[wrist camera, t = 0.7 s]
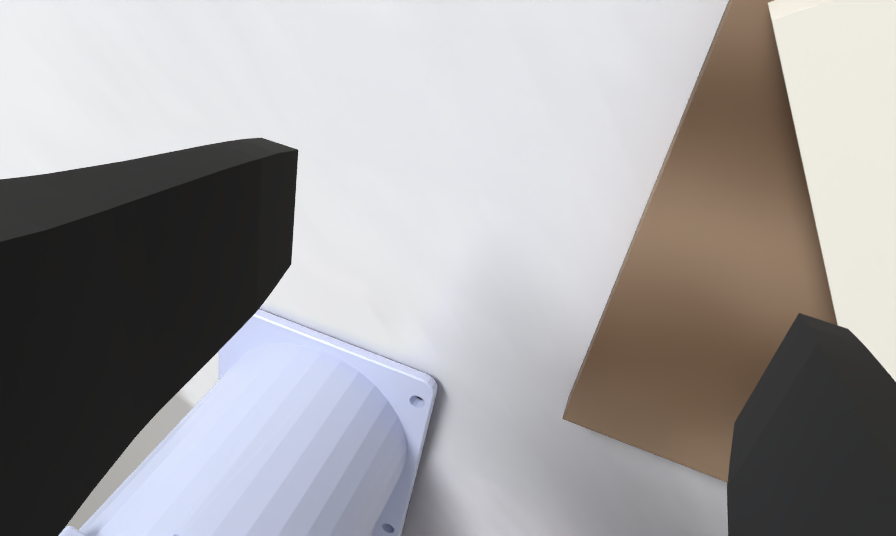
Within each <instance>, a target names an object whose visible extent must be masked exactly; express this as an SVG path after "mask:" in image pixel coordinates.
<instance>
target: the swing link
mask: <svg viewBox="0 0 896 536" xmlns="http://www.w3.org/2000/svg"><path fill="white" fill-rule="evenodd" d="M768 6H769V11H770V16H771V20H772V25H773V29H774V34H775V39H776V43H777V48H778V53H779V57H780V62H781V66H782V71H783V76H784V80H785V85H786V90H787V94H788V99H789V103H790V108H791V113H792V117H793V122H794V126H795V131H796V136H797V140H798V145H799V150H800V154H801V159H802V163H803V168H804V173H805V177H806V182H807V187H808V191H809V196H810V200H811V205H812V210H813V214H814V219H815V224H816V228H817V233H818V237H819V242H820V247H821V251H822V256H823V261H824V265H825V270H826V274H827V279H828V284H829V288H830V293H831V297H832V302H833V307H834V311H835V316H836V321H837V325H838V326H841V327H844V328H847V329H849V330H850V331H851V332H852V333H853V334H854V335H855V336H856V337H857V338H858V339H859V340H860V341H861V342H862V343H863V344H864V345H865V346H866V348H867V349H868V350H869V351H870V352H871V353H872V354H873V356H874V357H875V358H876V359H877V360H878V361H879V362H880V364H881V365H882V366H883V367H884V368H885V370H886V371H887V372H888V373H889V374H890V375H891V377H892V378H893V379H894V380H895V381H896V0H774V1H771V2H768Z"/></svg>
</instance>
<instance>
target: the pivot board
mask: <svg viewBox="0 0 896 536" xmlns="http://www.w3.org/2000/svg"><path fill="white" fill-rule="evenodd" d="M771 1H774V0H729V2H728V4H727V6H726V9H725V11H724V14H723V16H722V19H721V21H720V24H719V26H718V29H717V31H716V34H715V36H714V39H713V41H712V44H711V46H710V49H709V51H708V54H707V56H706V58H705V61H704V63H703V66H702V68H701V71H700V73H699V76H698V78H697V81H696V83H695V86H694V88H693V91H692V93H691V96H690V98H689V101H688V103H687V106H686V108H685V111H684V113H683V115H682V118H681V120H680V123H679V125H678V128H677V130H676V133H675V135H674V138H673V140H672V143H671V145H670V148H669V150H668V153H667V155H666V158H665V160H664V163H663V165H662V167H661V170H660V172H659V175H658V177H657V180H656V182H655V185H654V187H653V190H652V192H651V195H650V197H649V200H648V202H647V205H646V207H645V210H644V212H643V215H642V217H641V219H640V222H639V224H638V227H637V229H636V232H635V234H634V237H633V239H632V242H631V244H630V247H629V249H628V252H627V254H626V257H625V259H624V262H623V264H622V267H621V269H620V271H619V274H618V276H617V279H616V281H615V284H614V286H613V289H612V291H611V294H610V296H609V299H608V301H607V304H606V306H605V309H604V311H603V314H602V316H601V319H600V321H599V324H598V326H597V328H596V331H595V333H594V336H593V338H592V341H591V343H590V346H589V348H588V351H587V353H586V356H585V358H584V361H583V363H582V366H581V368H580V371H579V373H578V376H577V378H576V380H575V383H574V385H573V388H572V390H571V393H570V395H569V398H568V402H567V405H566V409H565V412H564V416H563V419H564V420H567V421H569V422H572V423H575V424H577V425H580V426H582V427H585V428H588V429H590V430H593V431H595V432H598V433H601V434H603V435H606V436H608V437H611V438H614V439H616V440H619V441H621V442H624V443H627V444H629V445H632V446H634V447H637V448H640V449H642V450H645V451H647V452H650V453H653V454H655V455H658V456H660V457H663V458H666V459H668V460H671V461H673V462H676V463H679V464H681V465H684V466H686V467H689V468H692V469H694V470H697V471H699V472H702V473H705V474H707V475H710V476H713V477H715V478H718V479H720V480H723V481H726V482H728V474H729V463H730V454H731V446H732V438H733V431H734V423H735V421H736V419H737V417H738V416H739V414H740V412H741V411H742V409H743V407H744V406H745V404H746V402H747V400H748V399H749V397H750V395H751V394H752V392H753V390H754V389H755V387H756V385H757V383H758V382H759V380H760V378H761V377H762V375H763V373H764V372H765V370H766V368H767V366H768V365H769V363H770V361H771V360H772V358H773V356H774V355H775V353H776V351H777V349H778V348H779V346H780V344H781V343H782V341H783V339H784V337H785V336H786V334H787V332H788V331H789V329H790V327H791V326H792V324H793V322H794V320H795V319H796V317H797V315H798V314H799V313H801V314H804V315H807V316H810V317H814V318H817V319H820V320H823V321H826V322H829V323H832V324H835V325H837V321H836V316H835V311H834V307H833V302H832V297H831V293H830V288H829V284H828V279H827V274H826V270H825V265H824V261H823V256H822V251H821V247H820V242H819V237H818V233H817V228H816V224H815V219H814V214H813V210H812V205H811V200H810V196H809V191H808V187H807V182H806V177H805V173H804V168H803V163H802V159H801V154H800V150H799V145H798V140H797V136H796V131H795V126H794V122H793V117H792V113H791V108H790V103H789V99H788V94H787V90H786V85H785V80H784V76H783V71H782V66H781V62H780V57H779V53H778V48H777V43H776V39H775V34H774V29H773V25H772V20H771V16H770V11H769V6H768V2H771Z"/></svg>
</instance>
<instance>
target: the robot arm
mask: <svg viewBox="0 0 896 536" xmlns="http://www.w3.org/2000/svg"><path fill="white" fill-rule="evenodd" d="M297 161H298V150H297V149H294V148H291V147H288V146H285V145H282V144H279V143H276V142H272V141H269V140H266V139H263V138H252V139H241V140H234V141H227V142H222V143H216V144H210V145H205V146H200V147H194V148H189V149H184V150H179V151H174V152H169V153H164V154H159V155H153V156H148V157H143V158H138V159H133V160H128V161H122V162H116V163H110V164H104V165H98V166H92V167H86V168H80V169H74V170H68V171H62V172H56V173H50V174H42V175H35V176H27V177H19V178H10V179H1V180H0V536H401V534H402V530H403V526H404V522H405V518H406V514H407V510H408V506H409V502H410V498H411V494H412V490H413V486H414V482H415V478H416V474H417V470H418V466H419V462H420V458H421V454H422V450H423V446H424V442H425V438H426V434H427V430H428V426H429V422H430V418H431V414H432V410H433V406H434V402H435V398H436V394H437V383H436V381H435V380H434V379H433V378H432V377H431V376H429V375H428V374H426V373H423V372H421V371H418V370H415V369H413V368H410V367H408V366H405V365H402V364H400V363H397V362H395V361H392V360H389V359H387V358H384V357H382V356H379V355H377V354H374V353H371V352H369V351H366V350H364V349H361V348H358V347H356V346H353V345H351V344H348V343H345V342H343V341H340V340H338V339H335V338H332V337H330V336H327V335H325V334H322V333H320V332H317V331H314V330H312V329H309V328H307V327H304V326H301V325H299V324H296V323H294V322H291V321H288V320H286V319H283V318H281V317H278V316H275V315H273V314H270V313H268V312H265V311H263V310H260V309H259V308H260V307H261V305H262V304H263V303H264V301H265V300H266V299H267V297H268V296H269V295H270V293H271V292H272V291H273V289H274V288H275V287H276V285H277V284H278V282H279V281H280V279H281V278H282V277H283V275H284V274H285V272H286V271H287V269H288V268H289V267H290V265H291V258H292V242H293V226H294V209H295V193H296V177H297ZM218 351H219V381H218V382H217V383H216V384H215V385H214V386H213V387H212V388H211V389H210V390H209V391H208V393H207V394H206V395H205V396H204V397H203V398H202V399H201V400H200V401H199V402H198V403H197V404H196V405H195V406H194V407H193V409H192V410H191V411H190V412H189V413H188V414H187V415H186V416H185V417H184V418H183V419H182V420H181V421H180V422H179V424H178V425H177V426H176V427H175V428H174V429H173V430H172V431H171V432H170V433H169V434H168V435H167V436H166V437H165V438H164V439H163V441H162V442H161V443H160V444H159V445H158V446H157V447H156V448H155V449H154V450H153V451H152V452H151V453H150V454H149V456H148V457H147V458H146V459H145V460H144V461H143V462H142V463H141V464H140V465H139V466H138V467H137V468H136V469H135V471H133V473H132V474H131V475H130V476H129V477H128V478H127V479H126V480H125V481H124V482H123V483H122V484H121V485H120V486H119V487H118V489H117V490H116V491H115V492H114V493H113V494H112V495H111V496H110V497H109V498H108V499H107V500H106V501H105V503H103V505H102V506H101V507H100V508H99V509H98V510H97V511H96V512H95V513H94V514H93V515H92V516H91V517H90V518H89V519H88V521H87V522H86V523H85V524H84V525H83V526H82V527H81V528H80V529H79V530H77V529H75V528H74V527H72V526H67V527H66V528H65V526H66V525H67V524H68V522H69V521H70V520H71V518H72V517H73V516H74V514H75V513H76V512H77V510H78V509H79V508H80V506H81V505H82V503H83V502H84V501H85V500H86V498H87V497H88V496H89V495H90V493H91V492H92V491H93V489H94V488H95V487H96V486H97V484H98V483H99V482H100V481H101V479H102V478H103V477H104V475H105V474H106V473H107V472H108V470H109V469H110V468H111V467H112V466H113V464H114V463H115V461H117V459H118V458H119V457H120V455H121V454H122V453H123V452H124V451H125V449H126V448H127V447H128V445H129V444H130V443H131V442H132V440H133V439H134V438H135V437H136V436H137V434H138V433H139V432H140V431H141V430H142V429H143V428H144V427H145V425H147V423H148V422H149V421H150V420H151V419H152V418H153V417H154V416H155V415H156V413H158V411H159V410H160V409H161V408H162V407H163V406H164V405H165V404H166V403H167V402H168V401H169V400H170V399H171V398H172V397H173V396H174V395H175V394H176V393H177V392H178V391H179V390H180V389H181V388H182V387H183V386H184V385H185V384H186V383H187V382H188V381H189V380H190V379H191V378H192V377H193V376H194V375H195V374H196V373H197V372H198V371H199V370H200V369H201V368H202V367H203V366H204V365H205V364H206V363H207V362H208V361H209V360H210V359H211V358H212V357H213V356H214V355H215V354H216V353H217V352H218ZM416 396H419V397H421V398H422V399H423V400H420V399H418V398H417V397H416ZM727 506H728V536H896V381H895V380H894V379H893V378H892V377H891V375H890V374H889V373H888V372H887V371H886V370H885V368H884V367H883V366H882V365H881V364H880V362H879V361H878V360H877V359H876V358H875V357H874V356H873V354H872V353H871V352H870V351H869V350H868V349H867V348H866V346H865V345H864V344H863V343H862V342H861V341H860V340H859V339H858V338H857V337H856V336H855V335H854V334H853V333H852V332H851V331H850V330H849V329H847V328H844V327H841V326H838V325H835V324H832V323H829V322H826V321H823V320H820V319H817V318H814V317H810V316H807V315H804V314H801V313H799V314H798V315H797V317H796V319H795V320H794V322H793V324H792V326H791V327H790V329H789V331H788V332H787V334H786V336H785V337H784V339H783V341H782V343H781V344H780V346H779V348H778V349H777V351H776V353H775V355H774V356H773V358H772V360H771V361H770V363H769V365H768V366H767V368H766V370H765V372H764V373H763V375H762V377H761V378H760V380H759V382H758V383H757V385H756V387H755V389H754V390H753V392H752V394H751V395H750V397H749V399H748V400H747V402H746V404H745V406H744V407H743V409H742V411H741V412H740V414H739V416H738V417H737V419H736V421H735V423H734V431H733V438H732V446H731V454H730V463H729V474H728V484H727ZM64 528H65V529H64ZM63 529H64V530H63ZM62 530H63V531H62Z"/></svg>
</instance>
